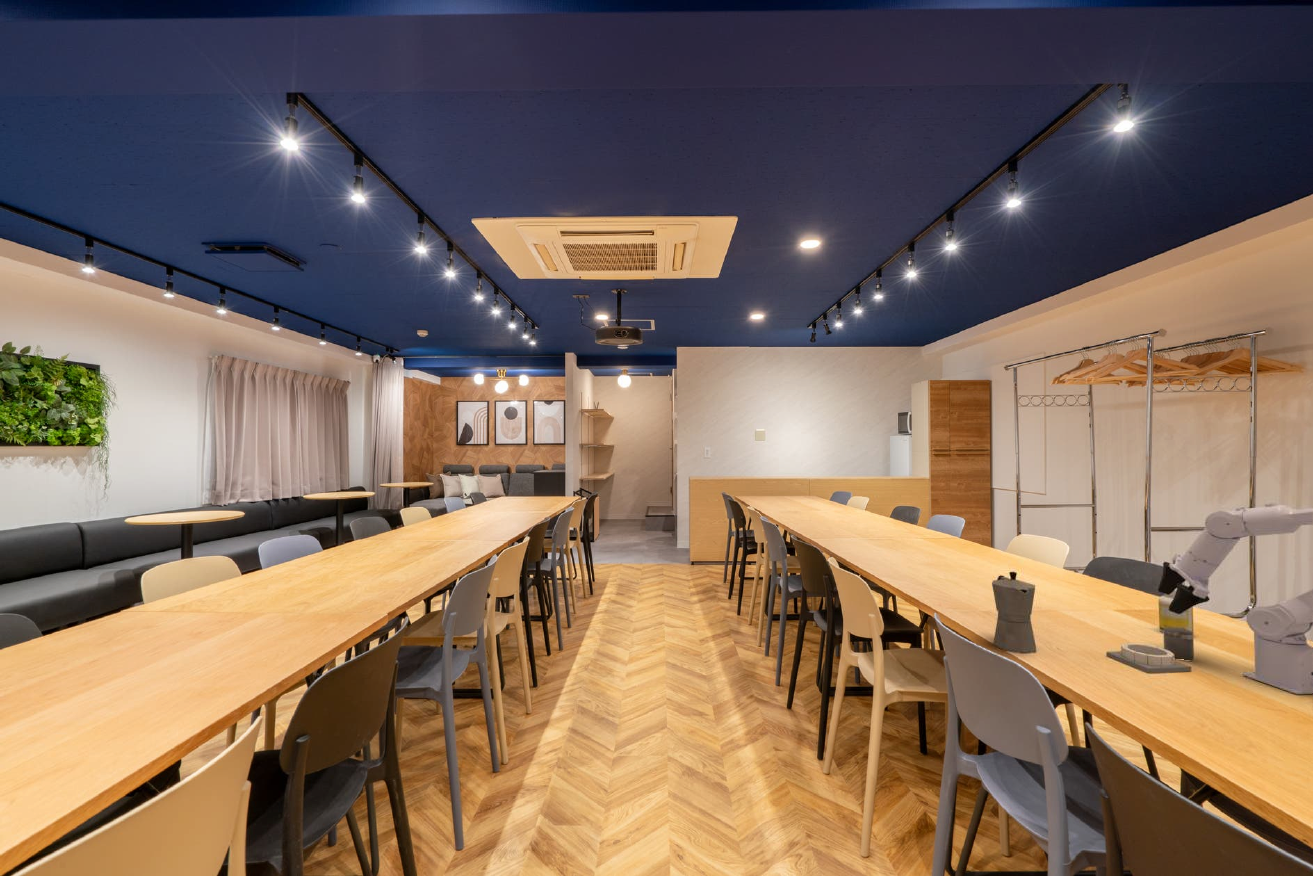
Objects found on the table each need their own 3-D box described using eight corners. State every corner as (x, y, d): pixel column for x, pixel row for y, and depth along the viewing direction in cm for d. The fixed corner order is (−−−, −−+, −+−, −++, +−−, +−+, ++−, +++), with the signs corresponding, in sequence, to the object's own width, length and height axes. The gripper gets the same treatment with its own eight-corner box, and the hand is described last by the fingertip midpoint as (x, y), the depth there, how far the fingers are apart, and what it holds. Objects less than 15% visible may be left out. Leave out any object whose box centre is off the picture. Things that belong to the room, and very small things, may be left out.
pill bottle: (1179, 629, 147) (1178, 585, 147) (1200, 638, 141) (1199, 591, 141) (1152, 629, 148) (1151, 585, 148) (1172, 637, 141) (1171, 591, 142)
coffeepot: (1049, 658, 127) (1048, 578, 128) (1004, 655, 129) (1002, 577, 130) (1020, 636, 143) (1018, 565, 143) (979, 633, 144) (978, 563, 145)
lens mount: (1191, 671, 119) (1191, 657, 119) (1148, 673, 118) (1148, 659, 118) (1146, 654, 129) (1146, 641, 129) (1106, 656, 128) (1106, 643, 128)
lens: (1200, 660, 126) (1199, 633, 126) (1180, 661, 125) (1179, 634, 125) (1177, 652, 131) (1177, 626, 131) (1158, 653, 130) (1157, 627, 130)
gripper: (1171, 534, 133) (1139, 577, 139) (1194, 567, 120) (1158, 613, 127) (1207, 545, 130) (1173, 589, 136) (1234, 580, 118) (1195, 627, 124)
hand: (1168, 601), depth 131 cm, fingers open, 7 cm apart
